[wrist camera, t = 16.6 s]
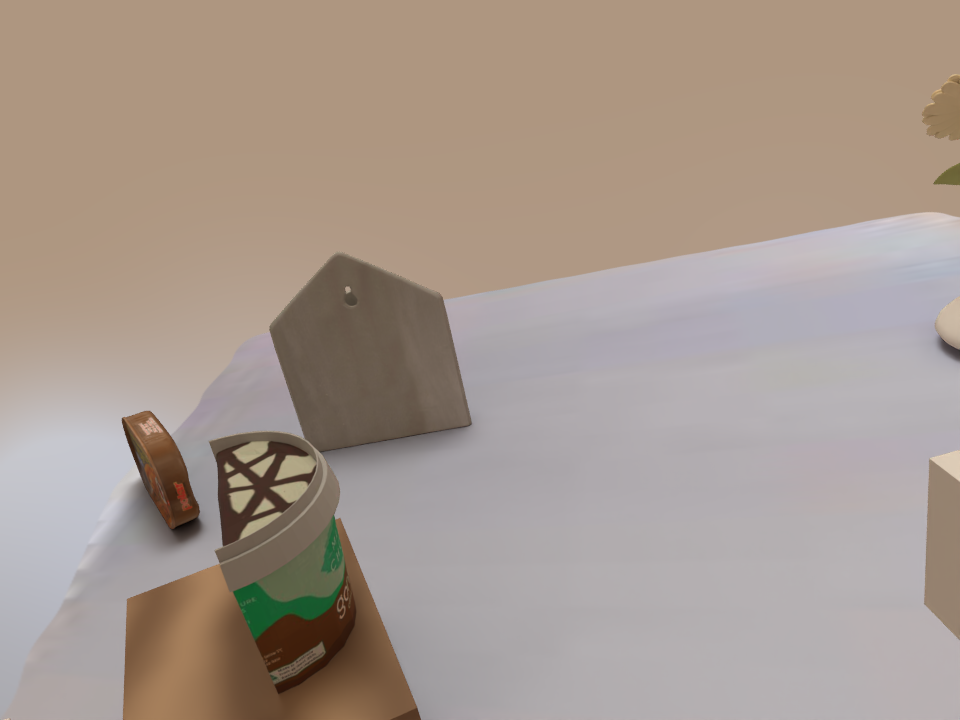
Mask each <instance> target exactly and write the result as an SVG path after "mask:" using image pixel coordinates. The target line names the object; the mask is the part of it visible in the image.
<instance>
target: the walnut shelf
mask: <svg viewBox="0 0 960 720" xmlns="http://www.w3.org/2000/svg"><path fill="white" fill-rule="evenodd" d="M335 521H336V525H337V530H338V534H339V538H340V542H341V546H342V550H343V555H344V559H345V563H346V567H347V571H348V575H349V580H350V584H351V588H352V592H353V596H354V600H355V605H356V619H355V626H354V628H353V630H352V632H351V634H350V636H349V638H348V640H347V642H346V644H345V646H344V647H343V648H342V649H341V650H340V651H339V652H338V654H337V655H336V656H335V657H334V658H333V659H332V660H331V661H330V662H329V663H328V664H327V666H326V667H324V668H323V669H321V670H320V671H318V672H317V673H316V674H314V675H313V676H311V677H310V678H309V679H307V680H306V681H304V682H303V683H301V684H300V685H298V686H296V687H293V688H291V689H289V690H287V691H285V692H283V693H280V694H278V692H277V690H276V688H275V686H274V684H273V681H272V679H271V677H270V675H269V672H268V670H267V668H266V666H265V663H264V661H263V659H262V657H261V654H260V652H259V650H258V648H257V645H256V643H255V641H254V639H253V636H252V634H251V632H250V630H249V627H248V625H247V623H246V621H245V618H244V616H243V614H242V612H241V609H240V607H239V605H238V603H237V600H236V598H235V596H234V594H233V591H232V592H229V589H228V586H227V584H226V581H225V578H224V575H223V573H222V570H221V567H220V564H218V565H215V566H213V567H210V568H207V569H205V570H202V571H199V572H197V573H194V574H192V575H189V576H186V577H184V578H181V579H178V580H176V581H173V582H171V583H168V584H165V585H163V586H160V587H157V588H155V589H152V590H149V591H147V592H144V593H142V594H139V595H136V596H134V597H131V598H128V599H127V618H126V647H125V676H124V705H123V720H421V718H420V715H419V712H418V709H417V706H416V704H415V701H414V699H413V696H412V694H411V691H410V689H409V686H408V684H407V681H406V679H405V677H404V674H403V672H402V669H401V667H400V664H399V662H398V659H397V657H396V654H395V652H394V649H393V647H392V645H391V642H390V640H389V637H388V635H387V632H386V630H385V627H384V625H383V622H382V620H381V617H380V615H379V613H378V610H377V608H376V605H375V603H374V600H373V598H372V595H371V593H370V590H369V588H368V585H367V583H366V581H365V578H364V576H363V573H362V571H361V568H360V566H359V563H358V561H357V558H356V556H355V553H354V551H353V549H352V546H351V544H350V541H349V539H348V536H347V534H346V531H345V529H344V526H343V524H342V521H341V519H340V518H339V519H336V520H335Z"/></svg>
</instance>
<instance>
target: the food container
mask: <svg viewBox="0 0 960 720" xmlns="http://www.w3.org/2000/svg"><path fill="white" fill-rule="evenodd" d="M209 443H210V446H211V448H212V451H213V454H214V456H215V459H216V462H217V467H218V501H219V509H220V518H221V528H222V541H223V547H221V548H218V549H216V550H215V552H216V555H217V557H218V560H219V562H220V567H221V570H222V573H223V575H224V578H225V581H226V584H227V586H228V589H229V592H232V591H233V594H234V596H235V598H236V600H237V603H238V605H239V607H240V609H241V612H242V614H243V616H244V618H245V621H246V623H247V625H248V627H249V630H250V632H251V634H252V636H253V639H254V641H255V643H256V645H257V648H258V650H259V652H260V654H261V657H262V659H263V661H264V663H265V666H266V668H267V670H268V672H269V675H270V677H271V679H272V681H273V684H274V686H275V688H276V690H277V692H278V694H280V693H283V692H285V691H287V690H289V689H291V688H293V687H296V686H298V685H300V684H301V683H303V682H304V681H306V680H307V679H309V678H310V677H311V676H313V675H314V674H316V673H317V672H318V671H320V670H321V669H323V668H324V667H326V666H327V664H328V663H329V662H330V661H331V660H332V659H333V658H334V657H335V656H336V655H337V654H338V652H339V651H340V650H341V649H342V648H343V647H344V646H345V644H346V642H347V640H348V638H349V636H350V634H351V632H352V630H353V628H354V626H355V619H356V605H355V600H354V596H353V592H352V588H351V584H350V580H349V575H348V571H347V567H346V563H345V559H344V555H343V550H342V546H341V542H340V538H339V534H338V530H337V525H336V521H335V517H334V513H335V511H336V508H337V505H338V503H339V496H340V488H339V482H338V480H337V478H336V476H335V475H334V473H333V471H332V470H331V468H330V466H329V465H328V463H327V462H326V460H325V458H324V457H323V455H322V454H321V453H320V452H319V451H318V450H317V449H316V448H314V446H313V445H312V444H311V443H309V442H308V441H307V440H305V439H304V438H302V437H300V436H297V435H294V434H291V433H286V432H280V431H254V432H246V433H239V434H234V435H230V436H225V437H221V438H218V439H214V440H211V441H209Z"/></svg>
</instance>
